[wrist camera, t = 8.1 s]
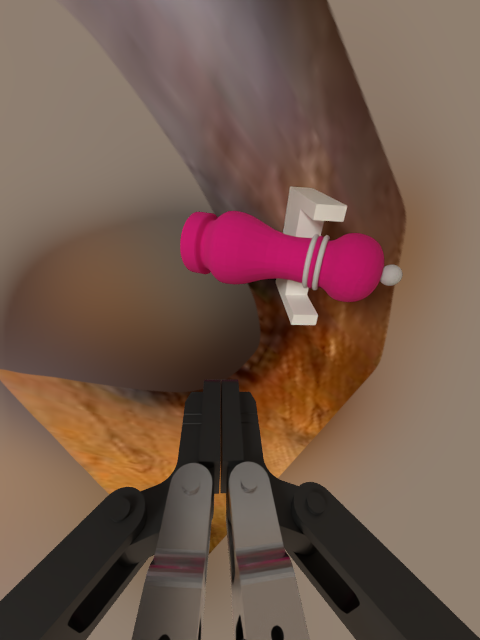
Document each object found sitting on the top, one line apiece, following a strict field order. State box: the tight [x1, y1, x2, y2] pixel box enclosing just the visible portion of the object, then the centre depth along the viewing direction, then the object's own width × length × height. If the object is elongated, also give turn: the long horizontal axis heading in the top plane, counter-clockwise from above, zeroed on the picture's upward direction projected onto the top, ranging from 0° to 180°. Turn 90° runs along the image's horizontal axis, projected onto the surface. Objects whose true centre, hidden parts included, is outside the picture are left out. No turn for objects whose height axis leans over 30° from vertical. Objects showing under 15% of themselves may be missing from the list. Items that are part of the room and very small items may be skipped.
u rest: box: [276, 187, 347, 325], centre depth 28 cm, size 11×2×10 cm, turn 176°
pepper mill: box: [180, 211, 402, 302], centre depth 26 cm, size 7×7×20 cm
